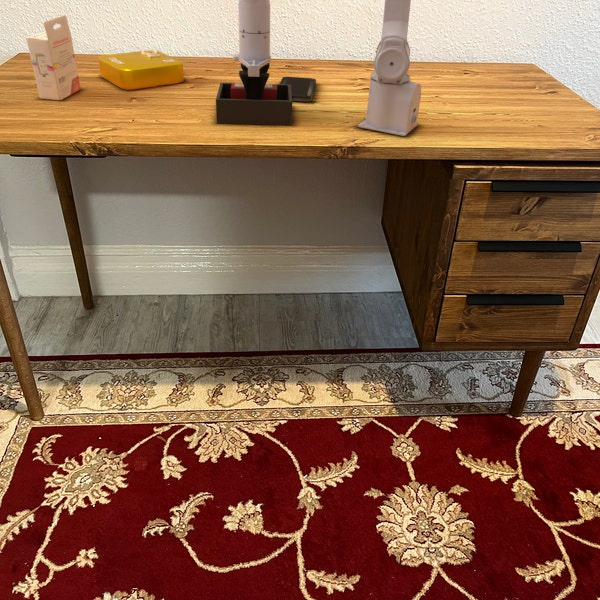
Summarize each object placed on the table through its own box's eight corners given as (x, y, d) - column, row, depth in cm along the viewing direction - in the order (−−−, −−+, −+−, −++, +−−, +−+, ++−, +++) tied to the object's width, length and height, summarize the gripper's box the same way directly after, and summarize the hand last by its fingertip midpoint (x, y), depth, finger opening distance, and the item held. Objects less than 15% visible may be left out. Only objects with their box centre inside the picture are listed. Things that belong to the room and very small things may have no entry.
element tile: (97, 75, 137) (94, 53, 134) (157, 67, 144) (155, 46, 142) (125, 91, 127) (122, 68, 124) (187, 82, 135) (186, 60, 132)
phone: (316, 78, 137) (311, 96, 125) (316, 83, 138) (311, 102, 125) (282, 76, 137) (274, 94, 125) (282, 81, 138) (274, 99, 126)
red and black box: (277, 110, 119) (277, 83, 116) (277, 115, 116) (278, 88, 113) (232, 109, 118) (231, 82, 115) (231, 114, 115) (230, 87, 112)
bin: (290, 106, 123) (290, 84, 120) (291, 125, 113) (292, 101, 110) (221, 104, 122) (220, 82, 119) (216, 123, 112) (215, 99, 110)
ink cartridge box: (60, 87, 128) (45, 12, 119) (81, 89, 127) (68, 14, 118) (37, 98, 121) (21, 20, 112) (60, 101, 120) (45, 22, 111)
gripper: (234, 22, 114) (236, 94, 122) (230, 38, 102) (232, 116, 110) (271, 23, 115) (270, 95, 122) (271, 39, 103) (270, 117, 111)
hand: (254, 105), depth 116 cm, fingers open, 4 cm apart
